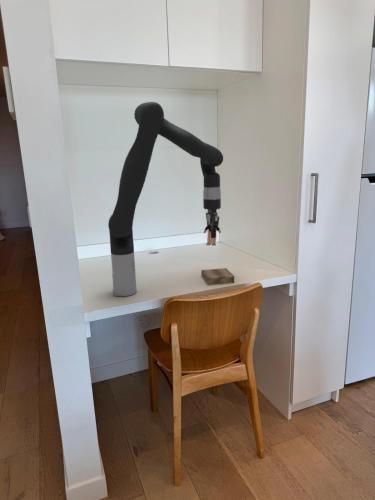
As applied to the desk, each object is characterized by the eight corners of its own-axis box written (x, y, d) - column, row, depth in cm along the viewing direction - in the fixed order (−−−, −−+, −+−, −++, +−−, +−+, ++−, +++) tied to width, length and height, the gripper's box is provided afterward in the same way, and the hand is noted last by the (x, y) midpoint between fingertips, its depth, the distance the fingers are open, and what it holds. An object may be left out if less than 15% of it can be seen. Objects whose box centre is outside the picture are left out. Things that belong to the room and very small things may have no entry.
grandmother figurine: (203, 246, 152) (203, 217, 148) (203, 243, 155) (203, 216, 152) (221, 245, 151) (221, 217, 148) (220, 243, 155) (220, 215, 152)
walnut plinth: (207, 285, 149) (207, 278, 148) (201, 276, 160) (201, 270, 159) (234, 282, 151) (234, 276, 150) (226, 274, 162) (226, 268, 161)
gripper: (199, 196, 154) (200, 234, 158) (207, 199, 141) (208, 241, 145) (215, 195, 155) (216, 233, 160) (225, 198, 142) (225, 239, 146)
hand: (212, 236), depth 152 cm, fingers closed on grandmother figurine, 3 cm apart
